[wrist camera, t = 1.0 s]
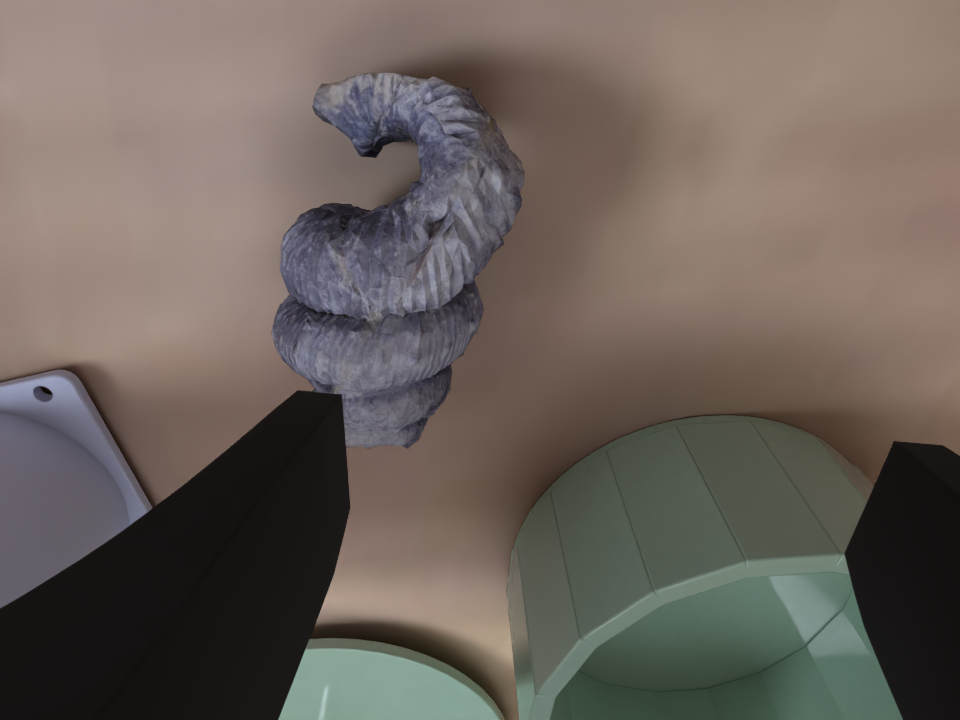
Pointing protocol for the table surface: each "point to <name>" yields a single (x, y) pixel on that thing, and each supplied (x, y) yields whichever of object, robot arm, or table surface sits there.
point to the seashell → (397, 256)
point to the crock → (695, 581)
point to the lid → (381, 685)
